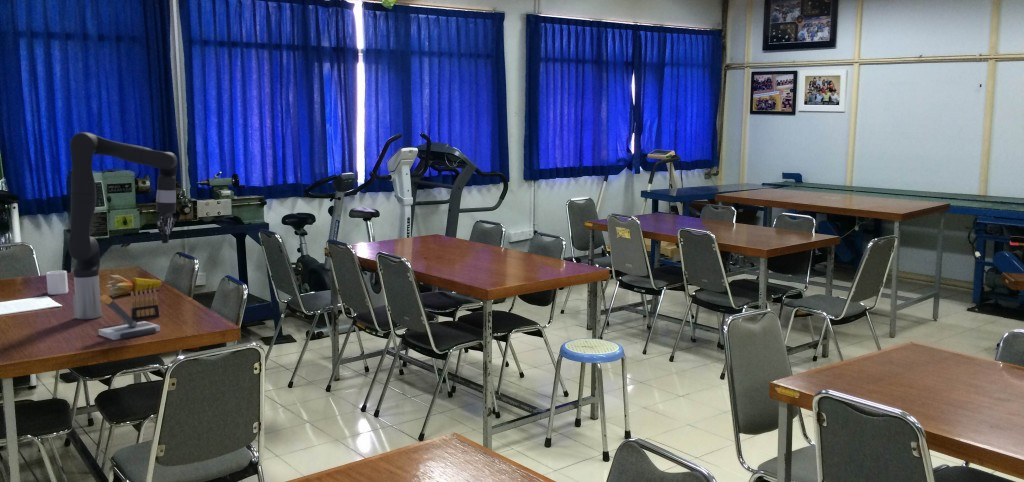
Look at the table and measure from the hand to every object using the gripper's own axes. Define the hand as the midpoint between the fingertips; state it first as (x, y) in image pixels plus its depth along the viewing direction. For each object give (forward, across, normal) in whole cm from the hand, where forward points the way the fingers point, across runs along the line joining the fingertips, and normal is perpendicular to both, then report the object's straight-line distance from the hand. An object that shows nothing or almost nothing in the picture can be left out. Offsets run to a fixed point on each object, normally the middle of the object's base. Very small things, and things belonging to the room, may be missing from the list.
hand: (165, 242), depth 366 cm
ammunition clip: (+31, -7, +4) cm, 32 cm away
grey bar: (+31, -27, +4) cm, 41 cm away
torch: (+32, +41, +34) cm, 62 cm away
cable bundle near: (+30, -36, -8) cm, 47 cm away
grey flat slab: (+31, -31, -2) cm, 44 cm away
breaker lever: (+28, -30, -2) cm, 41 cm away
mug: (+34, +43, +72) cm, 90 cm away
